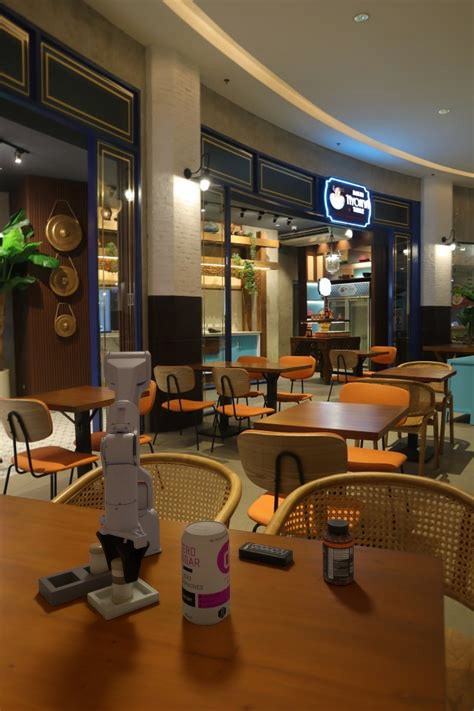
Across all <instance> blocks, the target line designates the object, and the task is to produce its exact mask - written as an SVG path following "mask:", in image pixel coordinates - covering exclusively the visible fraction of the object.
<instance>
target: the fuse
mask: <svg viewBox="0 0 474 711" xmlns="http://www.w3.org/2000/svg"><path fill="white" fill-rule="evenodd" d="M88 552H89V563H90V575H91V576H97V575H100V574H103V573H106V572H109V569H108V565H107V562H106V558H105V554H104V551H103V548H102V545H101V543H100V541H99V542H94V543H91V544H89V546H88Z"/></svg>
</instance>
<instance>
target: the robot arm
mask: <svg viewBox="0 0 474 711" xmlns="http://www.w3.org/2000/svg"><path fill="white" fill-rule="evenodd" d="M102 368H103V376H104V377H103V378H104V379H105V383H106V386H107V388H108V390H110V391H113V392H114V402H113V403H111V405H109V406H108V409H107V415H106V416H107V417H106V423H105V424H106V426H105V427H106V428H105V434H104V436H102V437H101V440H100V447H99V448H100V449H99V452H100V453H99V454H100V456H99V457H100V461H101V466H102V467H101V468H102V477H104V482H103V483H104V513H103V514H99V525H100V526H101V527H99V529H98V530H97V531H96V532H95V536H96V537H97V540H98V541H99V542H100V543H101V545H102V548H103V551H104V554H105V558H106V562H107V565H108V569H109V570H110V571H111V570H112V568H111V561H112V560H113V559H115V558H118V557H120V558H121V561H122V566H123V574H124V579H125V582H126V583H127V584H129V583H132V582H135V581H137V580H138V578H140V577H139V576H140V572H141V568H142V564H143V560H144V558H145V557H148V556H152V555H155V554H157V553H161V552H162V551H163V549H162V548H161V528H160V527H161V524H160V517H159V513H157V511H156V510H155V509H154V483H153V476H152V474H151V473H150V472H149V471H148V470H147V469H145V468H143V467H142V466H141V452H140V451H141V444H140V443H141V442H140V441H141V439H140V437H141V436H140V435H141V434H140V432H141V431H140V428H141V427H140V425H141V422H140V415H141V414H140V412H141V411H140V400H141V397H142V394H143V392H144V391H148V390H149V389H150V388H151V387H150V386H151V384H152V355H151V353H150V351H149V350H145V351H110V350H109V351H106V352H105V354H104V355H103V367H102Z"/></svg>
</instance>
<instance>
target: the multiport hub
mask: <svg viewBox="0 0 474 711" xmlns="http://www.w3.org/2000/svg"><path fill="white" fill-rule="evenodd" d="M238 559H243V560H248V561H252V562H258V563H262V564H266V565H270V566H271V565H272V566H276V567H280V568H287V567H288V566H289V565H290V564H291V563H292V562H293V561H294V551H293V550H290V549H286V548H280V547H275V546H270V545H265V544H259V543H255V542H249V541H248V542H247V541H246V542H245V543H244V544H242V545H241V546H240V547H238Z"/></svg>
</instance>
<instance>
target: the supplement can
mask: <svg viewBox="0 0 474 711" xmlns="http://www.w3.org/2000/svg"><path fill="white" fill-rule="evenodd" d="M230 549H231V548H230V533H229V531H228V530H227V525H226V524H224V523H223V522H221V521H218V520H217V521H216V520H210V519H209V520H208V519H207V520H197V521H193V522H190V523H188V524H186V525H185V526H184V530H183V532H182V534H181V538H180V551H181V553H180V554H181V557H180V558H181V561H180V562H181V564H180V565H181V613H182V615H183V616H184V617H185V618H186V619H187V620H188V621H189V622H190V623H192V624H195V625H201V626H208V625H210V626H211V625H215V624H218V623H220V622H222V621H223V620H224V619H226V617H227V616H229V614H230V612H231V574H230V572H231V569H230V568H231V565H230V564H231V563H230V559H231V558H230V555H231V554H230Z"/></svg>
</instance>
